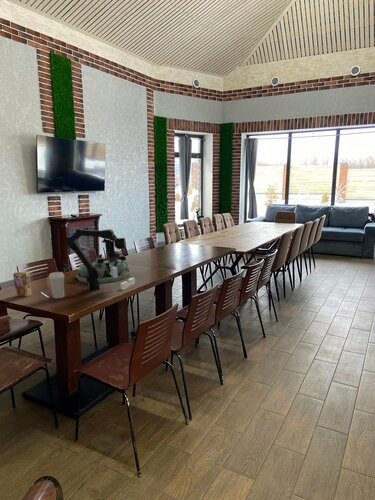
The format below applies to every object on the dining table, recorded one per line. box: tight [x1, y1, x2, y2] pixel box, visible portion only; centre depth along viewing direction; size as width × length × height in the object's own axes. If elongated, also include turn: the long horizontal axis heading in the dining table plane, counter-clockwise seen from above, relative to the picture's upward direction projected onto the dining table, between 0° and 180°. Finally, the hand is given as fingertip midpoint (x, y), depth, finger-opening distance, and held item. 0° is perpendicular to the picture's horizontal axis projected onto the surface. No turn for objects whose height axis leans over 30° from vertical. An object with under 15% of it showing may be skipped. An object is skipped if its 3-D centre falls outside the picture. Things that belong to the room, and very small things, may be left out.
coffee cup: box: [48, 271, 66, 299], centre depth 229 cm, size 10×10×15 cm
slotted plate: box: [109, 265, 118, 278], centre depth 238 cm, size 12×2×6 cm, turn 25°
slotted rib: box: [120, 277, 136, 291], centre depth 248 cm, size 16×2×4 cm, turn 160°
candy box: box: [12, 271, 33, 297], centre depth 234 cm, size 9×4×15 cm, turn 82°
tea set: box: [75, 250, 131, 284], centre depth 277 cm, size 40×40×16 cm
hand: (111, 272), depth 242 cm, fingers closed on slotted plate, 2 cm apart
